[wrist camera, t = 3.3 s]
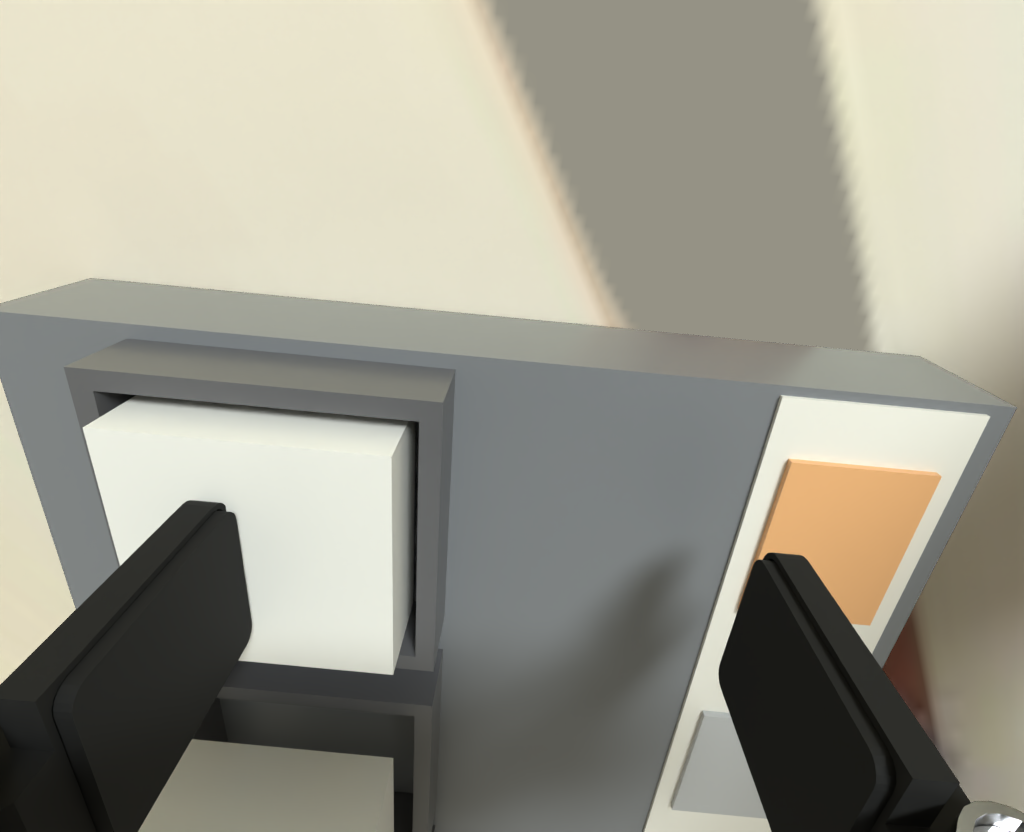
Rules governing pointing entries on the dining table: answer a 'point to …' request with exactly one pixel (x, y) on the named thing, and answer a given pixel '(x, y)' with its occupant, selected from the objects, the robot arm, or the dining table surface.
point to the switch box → (535, 527)
